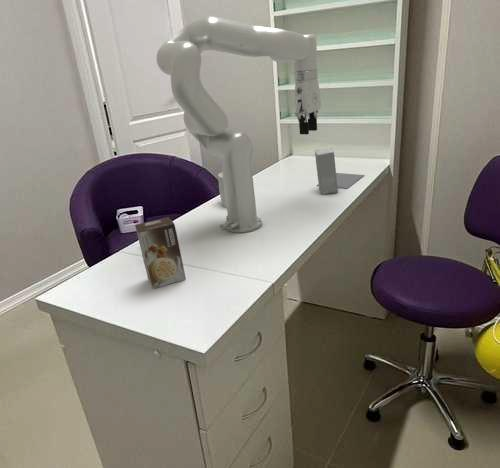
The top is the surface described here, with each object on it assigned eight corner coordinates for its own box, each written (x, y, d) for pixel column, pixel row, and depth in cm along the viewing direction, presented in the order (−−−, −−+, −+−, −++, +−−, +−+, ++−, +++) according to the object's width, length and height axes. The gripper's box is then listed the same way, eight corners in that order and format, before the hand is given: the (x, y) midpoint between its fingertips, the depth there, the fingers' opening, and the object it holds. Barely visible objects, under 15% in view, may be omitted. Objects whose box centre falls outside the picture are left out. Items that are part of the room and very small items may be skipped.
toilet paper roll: (257, 198, 165) (254, 169, 161) (242, 209, 156) (239, 178, 151) (231, 196, 171) (228, 168, 166) (215, 206, 162) (211, 177, 157)
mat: (347, 189, 164) (347, 188, 164) (316, 186, 172) (316, 185, 172) (364, 175, 178) (364, 175, 177) (335, 173, 185) (335, 172, 185)
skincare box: (338, 192, 161) (336, 152, 154) (319, 195, 162) (316, 154, 155) (334, 185, 169) (332, 146, 162) (316, 187, 169) (314, 148, 162)
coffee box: (180, 270, 117) (169, 215, 110) (186, 279, 111) (175, 223, 105) (147, 279, 114) (134, 224, 107) (151, 289, 108) (138, 232, 102)
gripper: (303, 78, 130) (306, 138, 137) (327, 72, 143) (329, 127, 150) (282, 79, 134) (286, 137, 141) (307, 74, 147) (310, 127, 154)
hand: (308, 131), depth 146 cm, fingers open, 5 cm apart
